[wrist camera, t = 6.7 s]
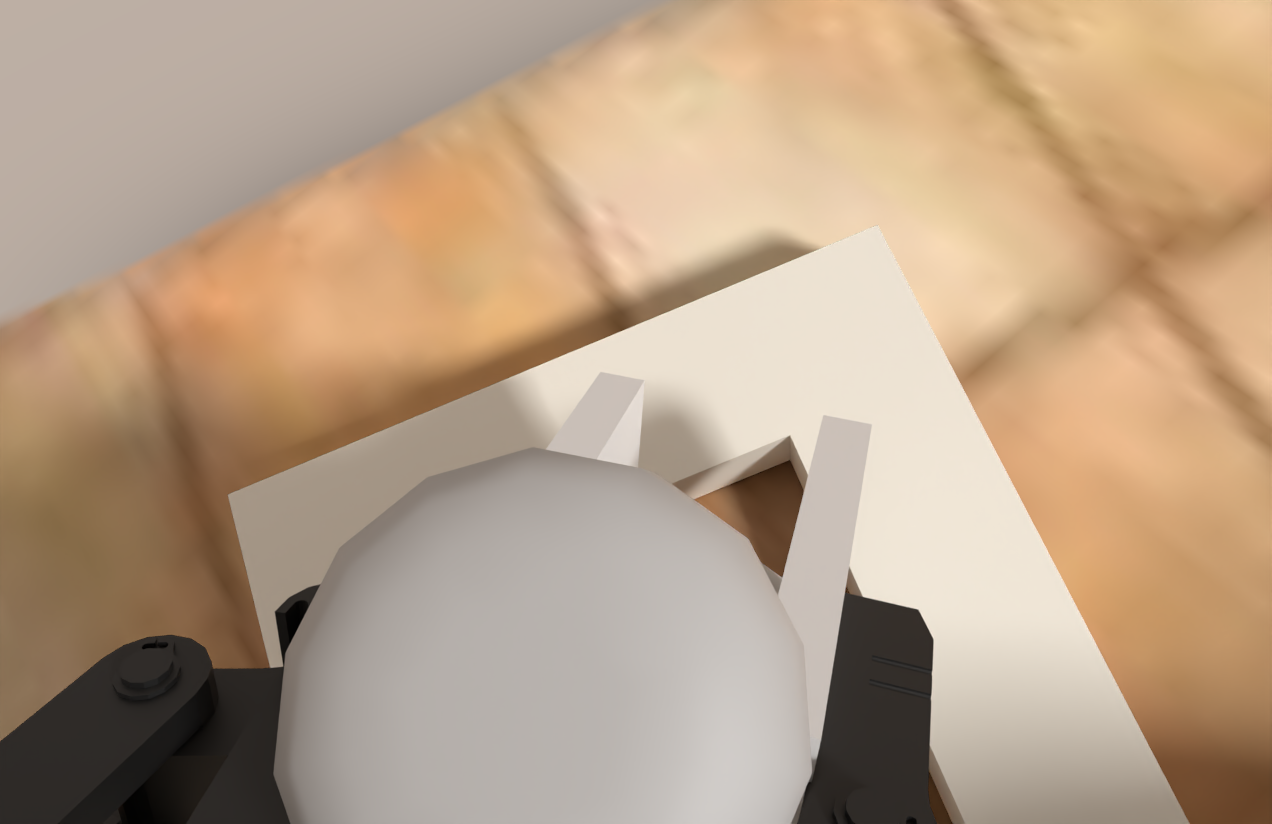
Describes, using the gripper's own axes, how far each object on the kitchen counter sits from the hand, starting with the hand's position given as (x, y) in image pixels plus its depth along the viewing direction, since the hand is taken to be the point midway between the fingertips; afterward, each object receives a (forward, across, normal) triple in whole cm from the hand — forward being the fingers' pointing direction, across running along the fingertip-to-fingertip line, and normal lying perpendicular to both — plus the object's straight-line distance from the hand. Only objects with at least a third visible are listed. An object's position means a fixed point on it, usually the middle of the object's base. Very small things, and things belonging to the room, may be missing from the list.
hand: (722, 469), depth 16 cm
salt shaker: (0, 0, +6) cm, 6 cm away
